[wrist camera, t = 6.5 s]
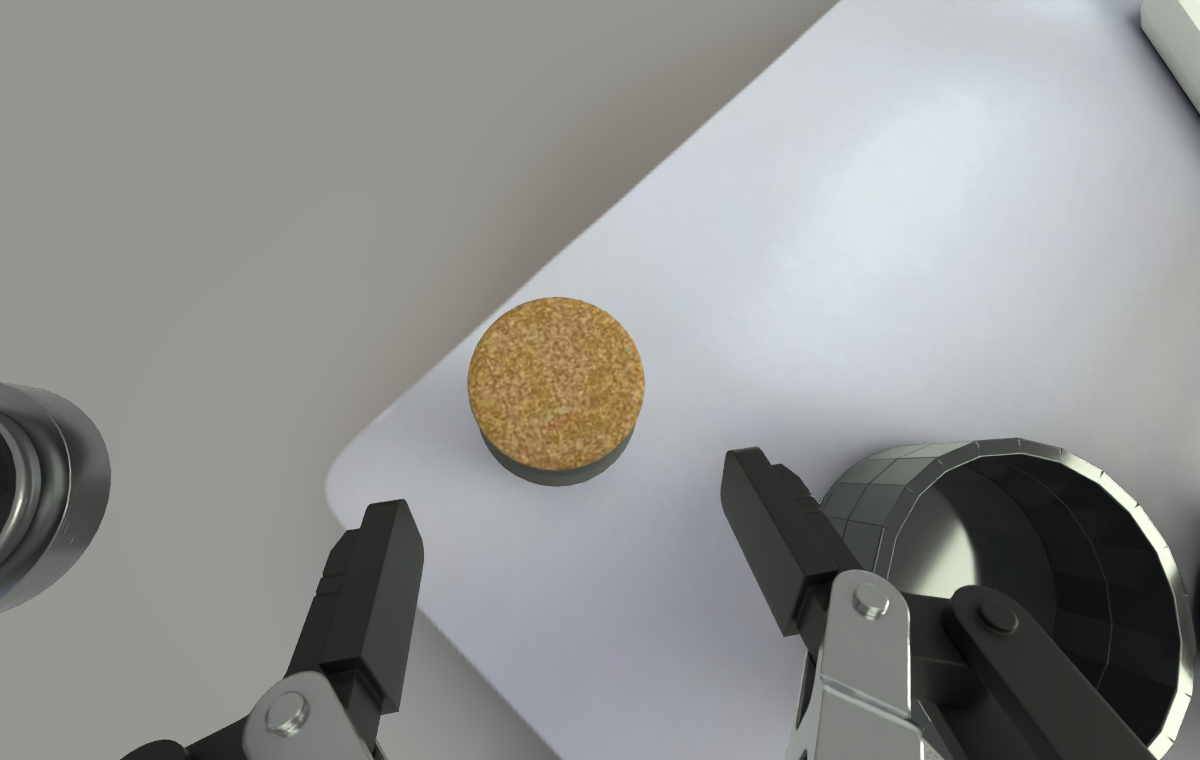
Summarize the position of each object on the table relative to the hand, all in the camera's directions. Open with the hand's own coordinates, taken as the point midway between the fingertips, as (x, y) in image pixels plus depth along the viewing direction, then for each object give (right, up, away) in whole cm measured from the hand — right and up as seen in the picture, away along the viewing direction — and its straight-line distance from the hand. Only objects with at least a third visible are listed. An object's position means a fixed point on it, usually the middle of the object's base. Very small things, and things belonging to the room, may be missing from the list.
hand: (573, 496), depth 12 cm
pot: (+20, -9, +15) cm, 27 cm away
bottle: (-2, 0, +15) cm, 16 cm away
